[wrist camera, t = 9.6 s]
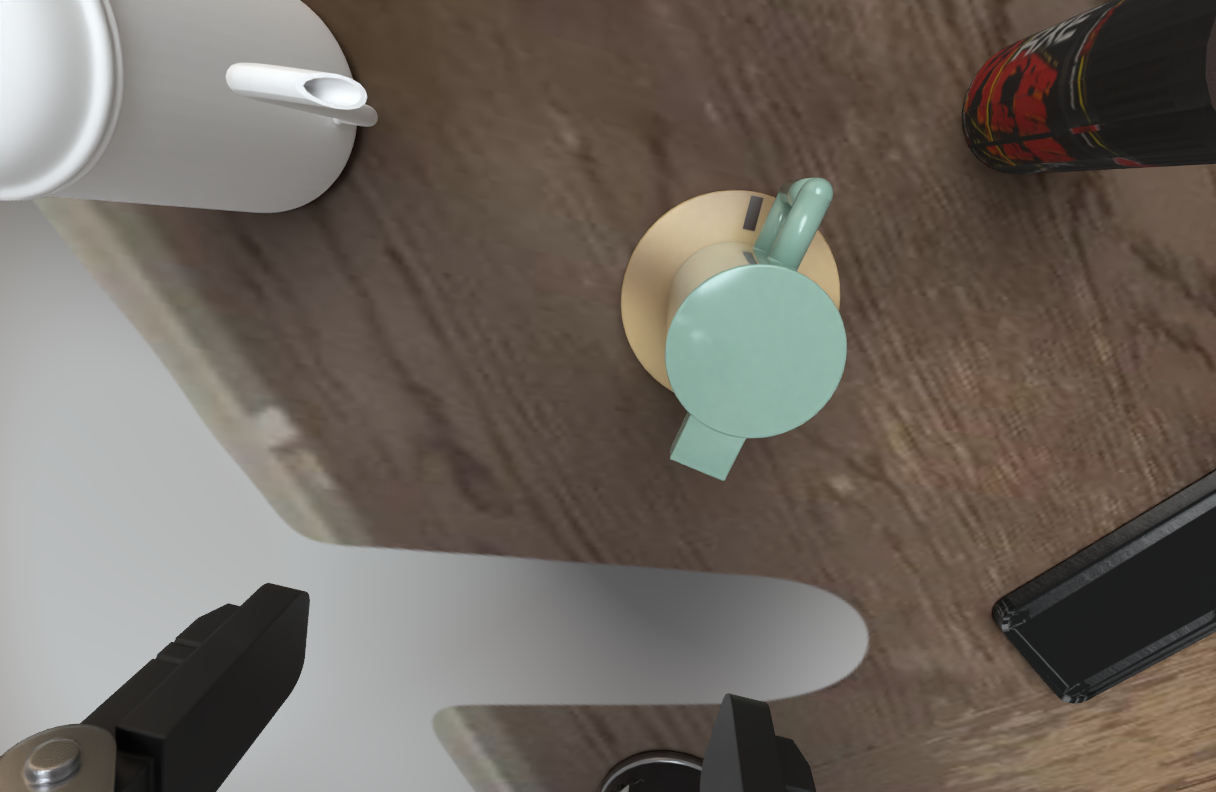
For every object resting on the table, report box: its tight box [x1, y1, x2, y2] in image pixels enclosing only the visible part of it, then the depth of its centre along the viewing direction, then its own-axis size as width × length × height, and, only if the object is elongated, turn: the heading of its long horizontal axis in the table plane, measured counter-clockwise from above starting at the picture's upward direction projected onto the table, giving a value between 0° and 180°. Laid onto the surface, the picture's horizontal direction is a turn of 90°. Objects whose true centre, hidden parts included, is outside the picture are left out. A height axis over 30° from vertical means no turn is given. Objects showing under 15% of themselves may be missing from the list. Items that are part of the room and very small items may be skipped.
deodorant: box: [962, 0, 1216, 174], centre depth 24 cm, size 6×6×15 cm
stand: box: [621, 190, 840, 392], centre depth 34 cm, size 11×11×2 cm
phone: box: [993, 471, 1216, 703], centre depth 37 cm, size 8×1×15 cm
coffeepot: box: [0, 0, 378, 213], centre depth 25 cm, size 11×25×19 cm, turn 81°
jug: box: [665, 177, 847, 481], centre depth 28 cm, size 11×6×11 cm, turn 158°
